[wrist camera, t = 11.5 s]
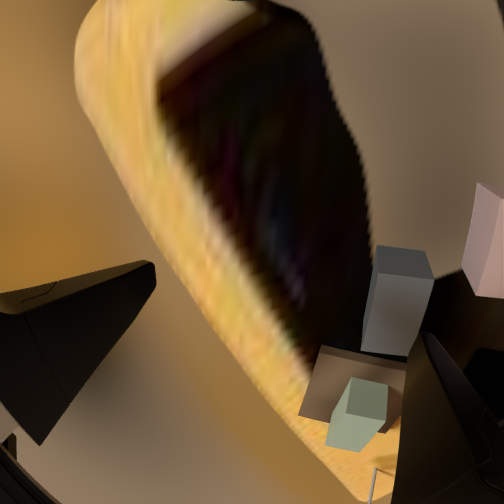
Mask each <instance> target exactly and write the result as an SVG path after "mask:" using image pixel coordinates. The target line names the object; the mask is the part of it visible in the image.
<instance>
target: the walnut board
mask: <svg viewBox="0 0 504 504" xmlns="http://www.w3.org/2000/svg"><path fill="white" fill-rule="evenodd" d="M406 367H407V363H402V362H397V361H392V360H387V359H382V358H377V357H373V356H368V355H364V354H359V353H355V352H350V351H346V350H342V349H337V348H333V347H329V346H325V345H322V346H321V349H320V352H319V355H318V358H317V361H316V364H315V367H314V370H313V373H312V376H311V379H310V382H309V385H308V388H307V391H306V394H305V397H304V399H303V402H302V405H301V408H300V411H299V414H298V415H299V416H303V417H306V418H310V419H314V420H319V421H323V422H327V423H330V421H331V417H332V413H333V411H334V409H335V407H336V406H337V404H338V402H339V400H340V398H341V397H342V395H343V393H344V391H345V389H346V387H347V385H348V383H349V381H350V379H351V377H354V378H358V379H363V380H367V381H371V382H376V383H381V384H385V385H388V398H387V414H386V422H385V423H384V424H383V425H382V427H381V428H380V429H379V430H378V431H377V432H379V433H385V434H386V432H387V431H388V430H389V429H390V428H391V426H392V425H393V424H394V423H395V421H396V420H397V419H398V417H399V416H400V415H401V412H402V397H403V390H404V383H405V375H406Z"/></svg>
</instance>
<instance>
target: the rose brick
mask: <svg viewBox="0 0 504 504" xmlns="http://www.w3.org/2000/svg"><path fill="white" fill-rule="evenodd" d="M461 267H462V268H463V270H464V272H465V274H466V276H467V278H468V280H469V282H470V284H471V286H472V289H473V291H474V293H475V295H476V296H484V297H494V298H503V299H504V188H501V187H496V186H492V185H488V184H483V183H477V188H476V195H475V202H474V207H473V213H472V219H471V224H470V229H469V233H468V238H467V242H466V247H465V251H464V255H463V259H462V263H461Z"/></svg>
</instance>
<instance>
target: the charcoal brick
mask: <svg viewBox="0 0 504 504" xmlns="http://www.w3.org/2000/svg"><path fill="white" fill-rule="evenodd" d="M433 284H434V277H433V274H432V271H431V268H430V265H429V263H428V260H427V257H426V254H425V252H424V251H422V250H414V249H407V248H399V247H390V246H383V245H377V246H376V253H375V259H374V266H373V272H372V278H371V284H370V289H369V295H368V300H367V305H366V310H365V314H364V323H363V335H362V345H361V351H368V352H376V353H384V354H393V355H402V356H408V354H409V351H410V349H411V347H412V345H413V343H414V341H415V339H416V337H417V334H418V332H419V329H420V326H421V323H422V320H423V317H424V314H425V311H426V308H427V304H428V301H429V298H430V294H431V291H432V287H433Z"/></svg>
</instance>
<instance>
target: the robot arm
mask: <svg viewBox="0 0 504 504" xmlns="http://www.w3.org/2000/svg"><path fill="white" fill-rule="evenodd" d="M155 287H156V273H155V265H154V263H152V262H150V261H146V260H141V261H136V262H132V263H128V264H124V265H120V266H115V267H111V268H107V269H103V270H99V271H95V272H91V273H87V274H83V275H80V276H75V277H71V278H67V279H63V280H59V281H58V282H57V281H55V282H51V283H48V284H43V285H39V286H35V287H31V288H25V289H20V290H15V291H10V292H5V293H0V504H61V503H60V502H59V501H58V500H57V499H55V498H54V497H53V496H52V495H51V494H50V493H49V492H48V491H46V490H45V489H44V488H43V487H42V486H41V485H40V484H39V483H38V482H37V481H36V480H35V479H34V478H33V477H32V476H31V475H30V474H29V473H28V472H27V471H26V470H25V469H24V468H23V467H22V466H21V465H20V464H19V463H18V462H17V456H16V455H17V452H16V436H15V435H14V434H13V431H14V430H15V429H16V428H17V427H18V426H20V427H21V429H22V430H23V431H24V432H25V433H26V434H27V435H28V436H29V437H30V438H31V439H32V440H33V441H34V442H35V443H36V444H38V445H39V446H40V445H41V444H42V443H43V442H44V440H45V439H46V437H47V436H48V434H49V433H50V432H51V430H52V429H53V427H54V426H55V425H56V423H57V422H58V420H59V419H60V417H61V416H62V415H63V413H64V412H65V411H66V409H67V408H68V406H69V405H70V403H71V402H72V401H73V399H74V398H75V396H76V395H77V394H78V392H79V391H80V390H81V388H82V387H83V386H84V384H85V383H86V382H87V380H88V379H89V378H90V376H91V375H92V374H93V372H94V371H95V370H96V368H97V367H98V366H99V365H100V363H101V362H102V361H103V359H104V358H105V357H106V355H107V354H108V353H109V352H110V350H111V349H112V348H113V347H114V345H115V344H116V342H117V341H118V340H119V339H120V338H121V336H122V335H123V334H124V333H125V331H126V330H127V329H128V328H129V326H130V325H131V324H132V322H133V321H134V320H135V318H136V317H137V315H138V314H139V312H140V311H141V309H142V308H143V306H144V305H145V303H146V302H147V300H148V299H149V297H150V296H151V294H152V292H153V291H154V289H155ZM480 354H481V355H480ZM391 504H504V352H499V351H493V350H487V349H479V350H477V351H476V352H475V354H474V356H473V357H472V359H471V360H470V362H469V363H468V365H467V366H466V368H465V369H464V370H463V372H461V370H460V369H459V368H458V366H457V365H456V364H455V362H454V361H453V360H452V358H451V357H450V356H449V355H448V353H447V352H446V351H445V349H444V348H443V347H442V346H441V344H440V343H439V342H438V341H437V339H436V338H435V337H434V336H433V334H431V333H426V332H420V333H419V334H418V335H417V337H416V339H415V341H414V343H413V345H412V347H411V349H410V351H409V354H408V358H407V367H406V375H405V383H404V390H403V397H402V412H401V428H400V440H399V450H398V459H397V467H396V474H395V481H394V488H393V493H392V499H391Z"/></svg>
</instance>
